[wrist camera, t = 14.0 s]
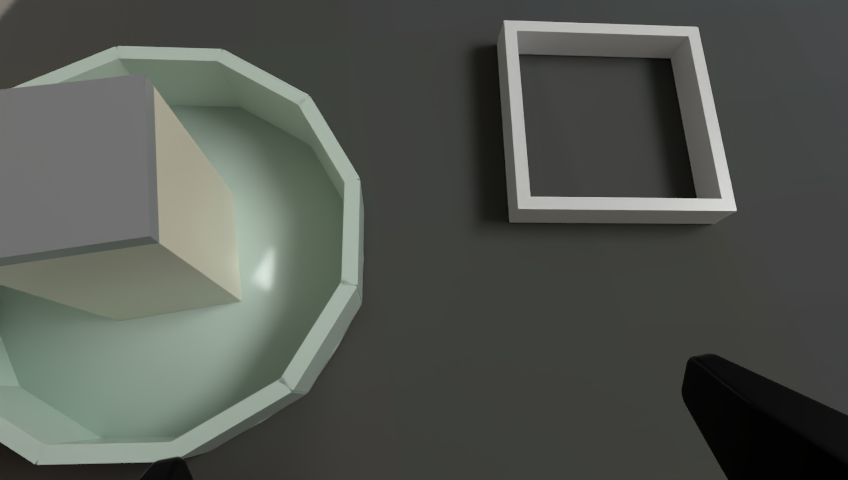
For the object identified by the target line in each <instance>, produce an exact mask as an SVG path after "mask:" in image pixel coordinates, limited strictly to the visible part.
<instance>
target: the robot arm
mask: <svg viewBox="0 0 848 480" xmlns="http://www.w3.org/2000/svg"><path fill="white" fill-rule="evenodd" d="M682 397H683V400H684V403H685V405H686V406H687V408H688V410H689V412H690V414H691V415H692V417H693V419H694V421H695V422H696V424H697V426H698V428H699V430H700V431H701V433H702V435H703V437H704V438H705V440H706V442H707V444H708V446H709V447H710V449H711V451H712V453H713V454H714V456H715V458H716V460H717V462H718V463H719V465H720V467H721V469H722V470H723V472H724V474H725V475H726V477H727V479H728V480H848V415H846V414H843V413H841V412H839V411H837V410H835V409H833V408H830V407H828V406H826V405H824V404H822V403H820V402H817V401H815V400H813V399H811V398H809V397H807V396H804V395H802V394H800V393H798V392H796V391H793V390H791V389H789V388H787V387H785V386H783V385H780V384H778V383H776V382H774V381H772V380H770V379H767V378H765V377H763V376H761V375H759V374H757V373H754V372H752V371H750V370H748V369H746V368H744V367H741V366H739V365H737V364H735V363H733V362H731V361H728V360H726V359H724V358H722V357H720V356H718V355H715V354H703V355H698V356H693V357H691V358H690V359H689V360H688V361H687V365H686V370H685V375H684V380H683V385H682ZM138 480H193V478H192V476H191V473H190V471H189V469H188V466H187V464H186V462H185V460H184V459H183V458H182V457H178V456H176V457H171V458H166V459H161V460H157V461H155V462H154V463H153V464H151V465H150V467H149V468H148V469H147V470H146V471H145V472H144V474H143V475H142V476H141V477H140V478H139V479H138Z"/></svg>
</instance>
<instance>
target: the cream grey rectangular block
mask: <svg viewBox="0 0 848 480" xmlns="http://www.w3.org/2000/svg"><path fill="white" fill-rule="evenodd" d="M0 285H3V286H6V287H10V288H13V289H16V290H19V291H23V292H26V293H29V294H32V295H36V296H39V297H42V298H45V299H49V300H52V301H55V302H58V303H61V304H65V305H68V306H71V307H74V308H78V309H81V310H84V311H87V312H91V313H94V314H97V315H100V316H103V317H107V318H110V319H113V320H116V321H123V320H129V319H135V318H142V317H148V316H154V315H160V314H166V313H172V312H179V311H185V310H191V309H197V308H203V307H210V306H216V305H222V304H228V303H234V302H240V301H242V298H241V285H240V273H239V260H238V248H237V236H236V223H235V211H234V199H233V193H232V192H231V190H230V189H229V188H228V186H227V185H226V184H225V182H224V181H223V179H222V178H221V177H220V175H219V174H218V173H217V171H216V170H215V169H214V167H213V166H212V164H211V163H210V162H209V160H208V159H207V158H206V156H205V155H204V154H203V152H202V151H201V150H200V148H199V147H198V145H197V144H196V143H195V141H194V140H193V139H192V137H191V136H190V135H189V133H188V132H187V130H186V129H185V128H184V126H183V125H182V124H181V122H180V121H179V120H178V118H177V117H176V116H175V114H174V113H173V111H172V110H171V109H170V107H169V106H168V105H167V103H166V102H165V101H164V99H163V98H162V96H161V95H160V94H159V92H158V91H157V90H156V88H155V87H154V86H153V84H152V83H151V81H150V80H149V79H148V77H147V76H146V75H145V74H138V75H129V76H120V77H111V78H101V79H92V80H83V81H74V82H65V83H56V84H47V85H37V86H28V87H19V88H10V89H1V90H0Z"/></svg>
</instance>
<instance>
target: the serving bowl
mask: <svg viewBox="0 0 848 480" xmlns="http://www.w3.org/2000/svg"><path fill="white" fill-rule="evenodd" d="M138 74H145V75H146V76H147V77H148V79H149V80H150V81H151V83H152V84H153V86H154V87H155V88H156V90H157V91H158V92H159V94H160V95H161V96H162V98H163V99H164V101H165V102H166V103H167V105H168V106H169V107H170V109H171V110H172V111H173V113H174V114H175V116H176V117H177V118H178V120H179V121H180V122H181V124H182V125H183V126H184V128H185V129H186V130H187V132H188V133H189V135H190V136H191V137H192V139H193V140H194V141H195V143H196V144H197V145H198V147H199V148H200V150H201V151H202V152H203V154H204V155H205V156H206V158H207V159H208V160H209V162H210V163H211V164H212V166H213V167H214V169H215V170H216V171H217V173H218V174H219V175H220V177H221V178H222V179H223V181H224V182H225V184H226V185H227V186H228V188H229V189H230V190H231V192H232V193H233V199H234V211H235V223H236V236H237V248H238V260H239V273H240V285H241V298H242V301H240V302H234V303H228V304H222V305H216V306H210V307H203V308H197V309H191V310H185V311H179V312H172V313H166V314H160V315H154V316H148V317H142V318H135V319H129V320H123V321H116V320H113V319H110V318H107V317H103V316H100V315H97V314H94V313H91V312H87V311H84V310H81V309H78V308H74V307H71V306H68V305H65V304H61V303H58V302H55V301H52V300H49V299H45V298H42V297H39V296H36V295H32V294H29V293H26V292H23V291H19V290H16V289H13V288H10V287H6V286H3V285H0V442H1V443H2V444H4V445H6V446H7V447H9V448H10V449H12V450H13V451H15V452H16V453H18V454H19V455H21V456H23V457H24V458H26V459H27V460H29V461H30V462H32V463H33V464H37V465H55V464H97V463H140V462H155V461H157V460H161V459H166V458H171V457H176V456H178V457H182V458H183V459H184V458H188V457H192V456H195V455H199V454H203V453H207V452H210V451H211V450H213V449H215V448H217V447H218V446H220V445H222V444H223V443H225V442H227V441H228V440H230V439H232V438H233V437H235V436H237V435H238V434H241V433H243V432H245V431H246V430H248V429H250V428H252V427H254V426H256V425H258V424H260V423H262V422H264V421H265V420H267V419H268V418H270V417H271V416H273V415H274V414H276V413H277V412H279V411H280V410H282V409H283V408H285V407H286V406H287V405H289V404H291V403H293V402H294V401H296V400H298V399H299V398H301V397H303V396H304V395H306V392H307V393H308V392H309V390H310V389H311V387H312V385H313V384H314V382H315V380H316V379H317V377H318V375H319V374H320V373H321V372H322V370H323V369H324V368H325V366H326V365H327V363H328V362H329V361H330V359H331V358H332V356H333V355H334V353H335V352H336V350H337V349H338V347H339V345H340V343H341V341H342V339H343V337H344V335H345V334H346V332H347V330H348V328H349V325H350V323H351V321H352V319H353V318H354V316H355V314H356V313H357V311H358V309H359V308H360V306H361V302H362V285H363V265H364V253H363V235H364V208H363V200H362V192H361V184H360V178H359V176H358V175H357V173H356V171H355V170H354V168H353V166H352V165H351V163H350V161H349V160H348V158H347V156H346V155H345V153H344V152H343V150H342V148H341V147H340V145H339V143H338V142H337V140H336V138H335V137H334V135H333V133H332V132H331V130H330V128H329V127H328V125H327V123H326V122H325V120H324V118H323V117H322V115H321V114H320V112H319V110H318V109H317V107H316V105H315V104H314V102H313V100H312V99H311V97H309V95H308V94H306V93H304V92H302V91H300V90H298V89H296V88H295V87H293V86H291V85H289V84H287V83H285V82H283V81H281V80H280V79H278V78H276V77H274V76H272V75H270V74H268V73H267V72H265V71H263V70H261V69H259V68H257V67H255V66H253V65H252V64H250V63H248V62H246V61H244V60H242V59H240V58H238V57H237V56H235V55H233V54H231V53H229V52H227V51H225V50H223V51H222V49H205V48H170V47H136V46H118V47H117V48H116V46H115V47H113V48H110V49H108V50H105V51H103V52H100V53H98V54H95V55H93V56H90V57H88V58H85V59H83V60H80V61H78V62H75V63H73V64H70V65H68V66H65V67H63V68H61V69H58V70H56V71H53V72H51V73H48V74H46V75H43V76H41V77H38V78H36V79H33V80H31V81H28V82H26V83H23V84H21V85H18V86H16V87H13V88H19V87H28V86H37V85H47V84H56V83H65V82H74V81H83V80H92V79H101V78H111V77H120V76H129V75H138Z"/></svg>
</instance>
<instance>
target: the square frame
mask: <svg viewBox="0 0 848 480" xmlns="http://www.w3.org/2000/svg"><path fill="white" fill-rule="evenodd" d="M497 53H498V67H499V82H500V96H501V111H502V125H503V139H504V154H505V168H506V183H507V197H508V211H509V222H510V223H651V224H714V223H716V222H718V221H720V220H721V219H723V218H725V217H727V216H729V215H730V214H732V213H734V212H736V211H737V210H736V205H735V200H734V196H733V191H732V186H731V181H730V177H729V172H728V167H727V162H726V158H725V153H724V148H723V143H722V139H721V134H720V129H719V125H718V120H717V115H716V110H715V106H714V101H713V96H712V91H711V87H710V82H709V77H708V72H707V68H706V63H705V58H704V53H703V49H702V44H701V39H700V34H699V30H698V27H683V26H654V25H624V24H594V23H565V22H535V21H506V20H504V22H503V25H502V29H501V32H500V35H499V39H498V42H497ZM518 54H536V55H570V56H604V57H638V58H671V63H672V68H673V74H674V79H675V84H676V90H677V95H678V100H679V106H680V111H681V116H682V122H683V127H684V132H685V138H686V143H687V148H688V154H689V159H690V164H691V170H692V175H693V180H694V186H695V191H696V196H697V198H605V197H530V186H529V174H528V162H527V150H526V138H525V126H524V114H523V102H522V90H521V78H520V66H519V55H518Z"/></svg>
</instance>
